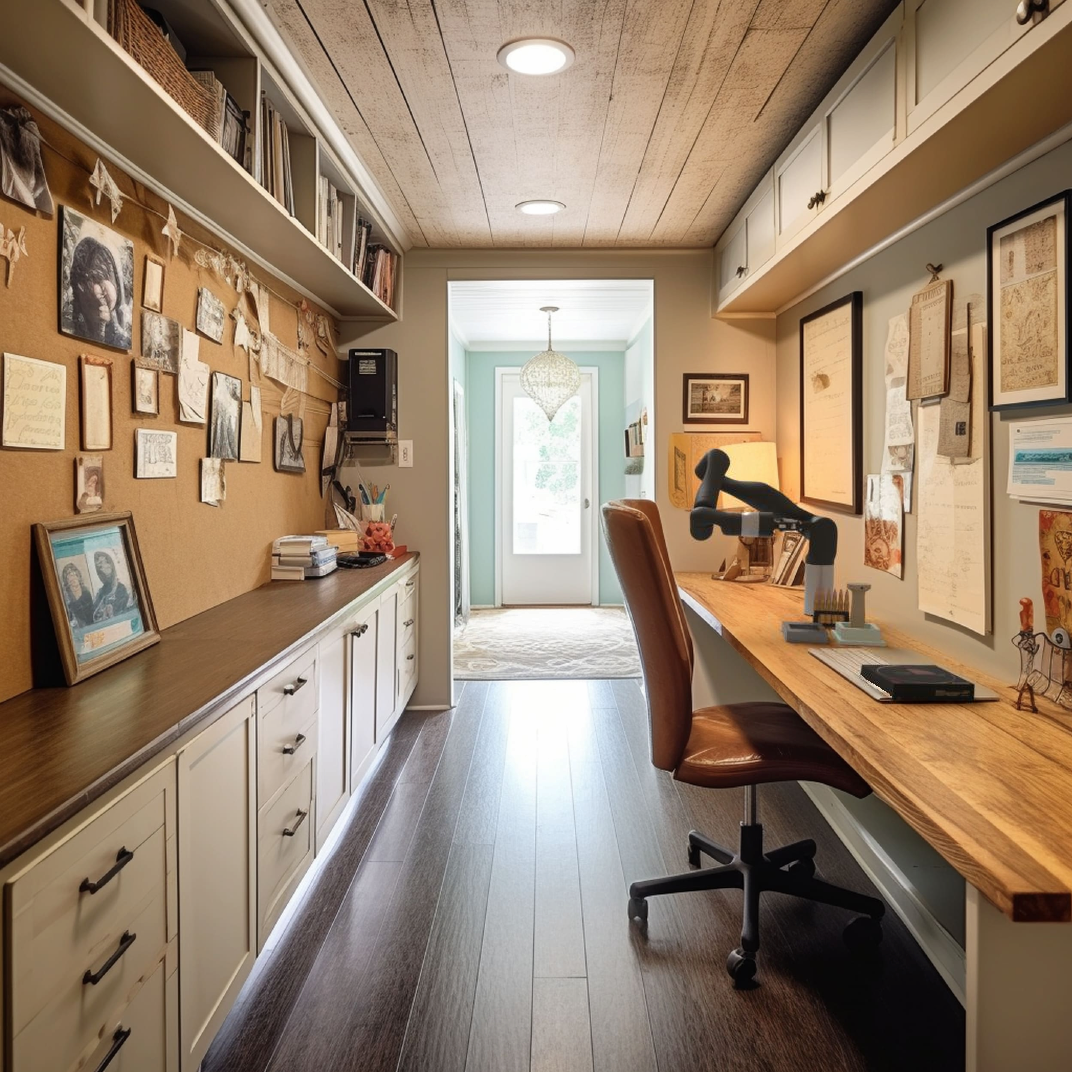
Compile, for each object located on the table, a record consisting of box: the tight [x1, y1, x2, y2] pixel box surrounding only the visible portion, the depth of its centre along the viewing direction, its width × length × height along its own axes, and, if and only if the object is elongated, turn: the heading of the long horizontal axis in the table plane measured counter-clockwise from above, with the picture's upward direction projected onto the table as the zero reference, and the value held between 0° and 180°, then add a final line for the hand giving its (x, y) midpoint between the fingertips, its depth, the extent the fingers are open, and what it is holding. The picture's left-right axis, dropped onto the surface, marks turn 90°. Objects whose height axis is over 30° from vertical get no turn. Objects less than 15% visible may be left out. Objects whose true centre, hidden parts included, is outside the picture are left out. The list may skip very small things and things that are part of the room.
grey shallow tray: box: [830, 621, 887, 648], centre depth 217 cm, size 16×12×4 cm
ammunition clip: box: [812, 588, 850, 628], centre depth 236 cm, size 11×2×12 cm, turn 76°
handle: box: [846, 582, 872, 629], centre depth 216 cm, size 5×6×15 cm
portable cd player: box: [859, 664, 976, 702], centre depth 165 cm, size 16×17×4 cm
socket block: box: [781, 620, 829, 645], centre depth 220 cm, size 16×11×3 cm
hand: (813, 525), depth 226 cm, fingers open, 8 cm apart
